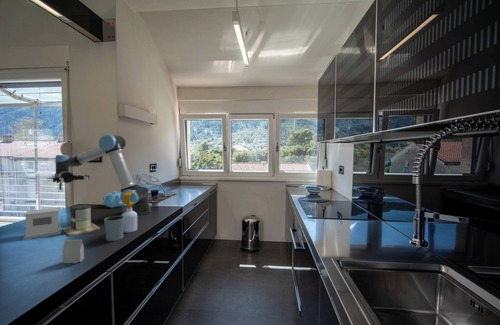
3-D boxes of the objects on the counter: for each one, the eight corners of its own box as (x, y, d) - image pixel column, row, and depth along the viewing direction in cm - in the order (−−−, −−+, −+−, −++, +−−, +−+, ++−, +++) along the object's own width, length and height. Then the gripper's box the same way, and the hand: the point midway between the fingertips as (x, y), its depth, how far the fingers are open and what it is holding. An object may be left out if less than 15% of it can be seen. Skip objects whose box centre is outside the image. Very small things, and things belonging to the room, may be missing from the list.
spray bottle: (140, 228, 151) (139, 191, 150) (131, 233, 142) (131, 193, 141) (127, 227, 152) (126, 190, 151) (118, 232, 143) (117, 193, 142)
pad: (91, 224, 158) (91, 222, 158) (100, 229, 148) (100, 227, 147) (62, 230, 145) (62, 228, 145) (69, 236, 135) (69, 234, 135)
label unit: (61, 229, 146) (60, 207, 146) (60, 234, 138) (59, 210, 138) (26, 234, 137) (25, 210, 136) (23, 239, 129) (22, 214, 128)
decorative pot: (99, 208, 198) (99, 193, 197) (110, 204, 214) (109, 189, 213) (119, 208, 199) (119, 193, 198) (128, 204, 215) (127, 189, 214)
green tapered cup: (110, 243, 127) (109, 221, 126) (100, 239, 132) (100, 218, 131) (128, 237, 135) (127, 217, 135) (118, 233, 141) (118, 214, 140)
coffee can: (66, 231, 141) (66, 208, 140) (77, 225, 151) (77, 204, 150) (84, 230, 142) (84, 208, 141) (94, 225, 152) (94, 204, 151)
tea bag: (80, 262, 104) (80, 241, 104) (63, 264, 103) (62, 242, 102) (84, 259, 108) (83, 238, 108) (67, 260, 106) (66, 239, 106)
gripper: (86, 180, 175) (97, 183, 162) (43, 184, 156) (51, 187, 143) (86, 170, 175) (97, 172, 162) (43, 173, 155) (50, 175, 142)
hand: (75, 179), depth 152 cm, fingers open, 13 cm apart
